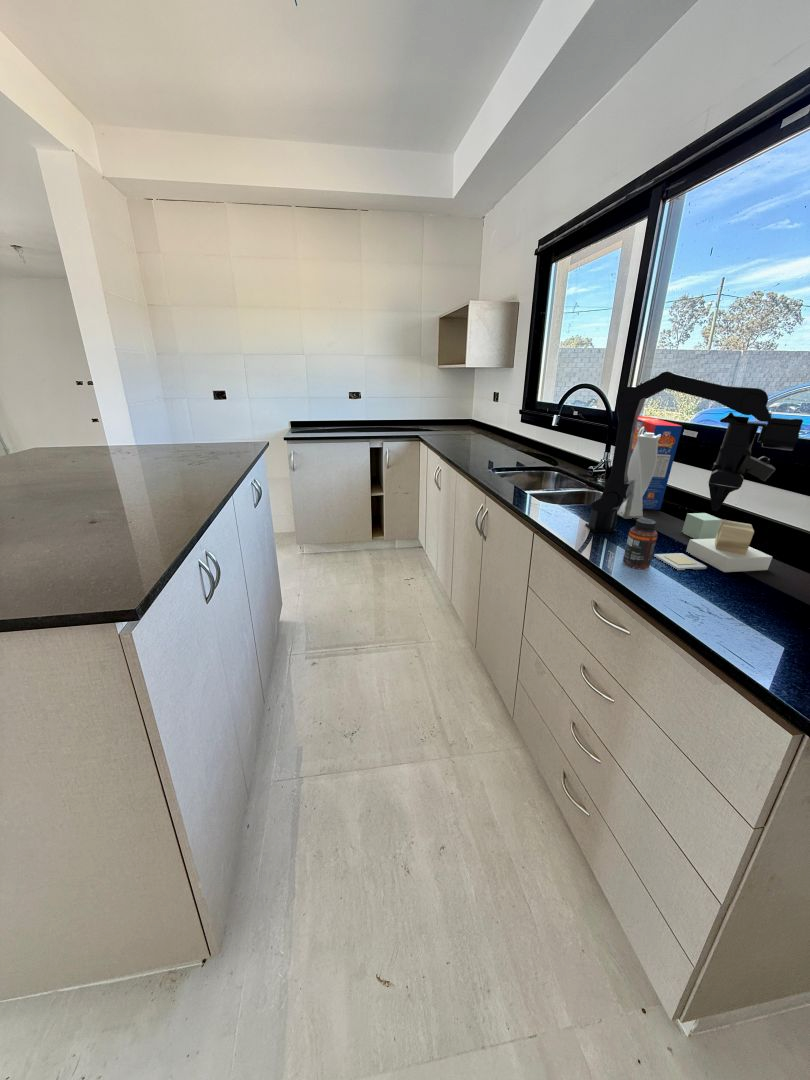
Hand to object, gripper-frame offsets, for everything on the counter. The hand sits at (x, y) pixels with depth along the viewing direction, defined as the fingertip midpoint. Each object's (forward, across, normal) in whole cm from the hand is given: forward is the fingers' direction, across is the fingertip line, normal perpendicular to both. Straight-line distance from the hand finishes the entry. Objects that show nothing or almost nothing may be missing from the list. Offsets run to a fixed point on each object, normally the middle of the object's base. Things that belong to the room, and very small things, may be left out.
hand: (715, 506), depth 108 cm
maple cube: (+9, -3, -6) cm, 11 cm away
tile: (+13, -12, +4) cm, 18 cm away
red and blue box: (+13, +45, +24) cm, 53 cm away
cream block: (+13, -2, -6) cm, 14 cm away
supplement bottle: (+13, -20, +12) cm, 27 cm away
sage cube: (+13, +14, +1) cm, 19 cm away
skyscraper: (+14, +22, +21) cm, 33 cm away
